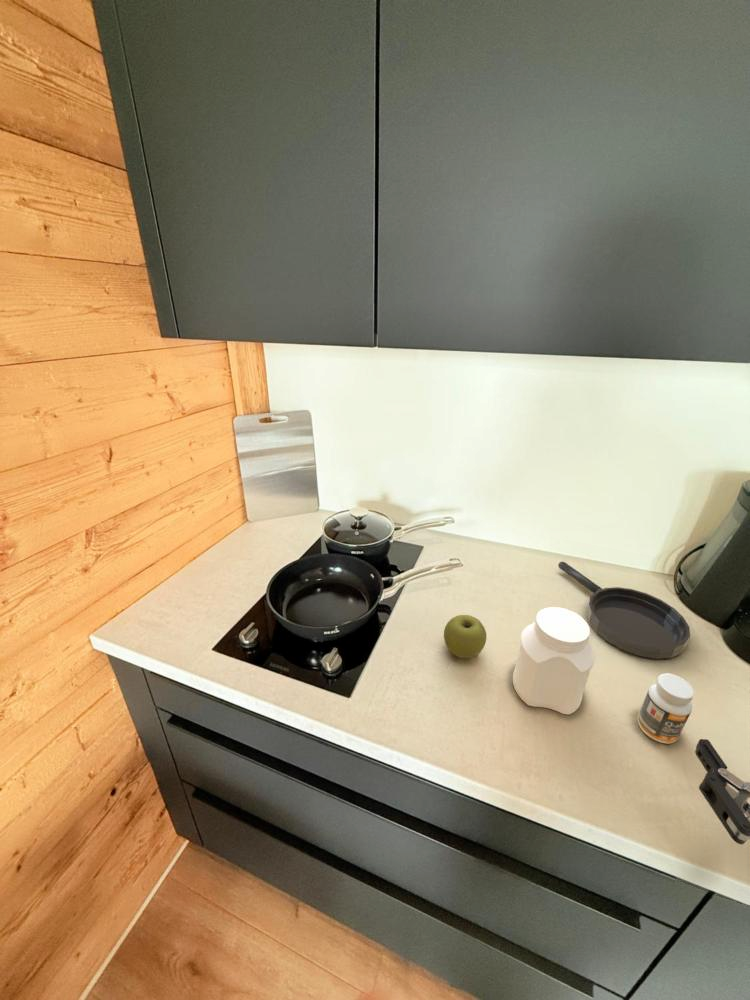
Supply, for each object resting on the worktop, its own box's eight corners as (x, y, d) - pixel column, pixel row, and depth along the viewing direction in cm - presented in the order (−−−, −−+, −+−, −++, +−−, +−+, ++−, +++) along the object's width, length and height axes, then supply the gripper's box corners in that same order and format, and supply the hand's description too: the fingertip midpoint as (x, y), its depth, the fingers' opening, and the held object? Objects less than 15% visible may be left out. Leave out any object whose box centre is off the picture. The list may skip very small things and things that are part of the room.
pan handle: (561, 565, 107) (563, 559, 106) (604, 596, 96) (606, 589, 95) (555, 567, 106) (557, 561, 105) (598, 599, 95) (600, 591, 94)
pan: (626, 590, 100) (630, 579, 98) (705, 644, 85) (711, 632, 83) (567, 610, 94) (570, 599, 92) (641, 672, 79) (646, 659, 77)
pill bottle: (663, 751, 65) (684, 708, 61) (628, 721, 70) (645, 679, 65) (685, 735, 67) (707, 692, 63) (650, 707, 72) (668, 665, 68)
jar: (577, 674, 78) (596, 611, 71) (584, 719, 70) (607, 653, 63) (512, 660, 81) (524, 598, 74) (512, 702, 73) (526, 637, 66)
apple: (483, 669, 79) (488, 641, 76) (440, 662, 81) (443, 634, 78) (483, 640, 86) (487, 613, 83) (443, 634, 87) (446, 607, 84)
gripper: (973, 901, 36) (808, 727, 51) (801, 891, 37) (687, 722, 51) (923, 939, 40) (781, 765, 54) (766, 929, 40) (667, 760, 55)
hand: (735, 744), depth 53 cm, fingers open, 8 cm apart
